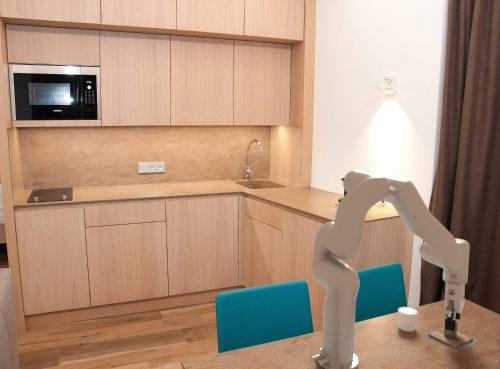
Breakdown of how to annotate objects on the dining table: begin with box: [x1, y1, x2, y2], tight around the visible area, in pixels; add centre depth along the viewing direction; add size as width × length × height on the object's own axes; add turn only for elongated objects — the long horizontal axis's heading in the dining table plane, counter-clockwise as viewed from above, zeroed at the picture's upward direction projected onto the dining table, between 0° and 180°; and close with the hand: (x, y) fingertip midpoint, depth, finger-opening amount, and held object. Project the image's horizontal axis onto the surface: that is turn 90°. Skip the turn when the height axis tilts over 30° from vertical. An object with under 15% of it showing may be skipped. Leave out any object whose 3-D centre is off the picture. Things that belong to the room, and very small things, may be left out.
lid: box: [428, 321, 474, 349], centre depth 154 cm, size 10×10×6 cm
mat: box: [421, 325, 480, 353], centre depth 154 cm, size 13×13×1 cm
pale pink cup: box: [397, 306, 419, 332], centre depth 162 cm, size 7×7×7 cm
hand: (452, 324), depth 154 cm, fingers open, 9 cm apart
